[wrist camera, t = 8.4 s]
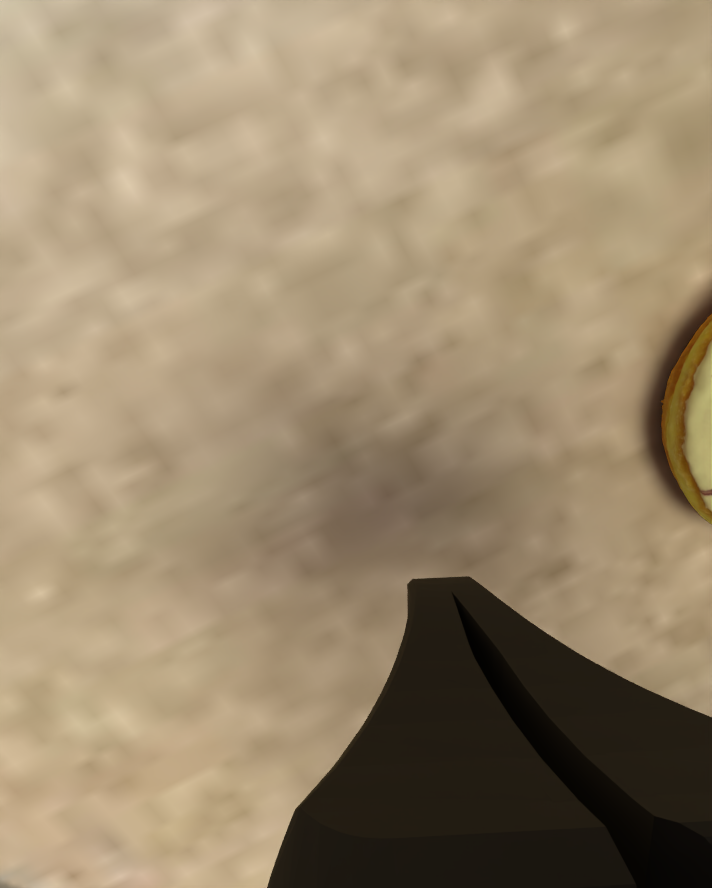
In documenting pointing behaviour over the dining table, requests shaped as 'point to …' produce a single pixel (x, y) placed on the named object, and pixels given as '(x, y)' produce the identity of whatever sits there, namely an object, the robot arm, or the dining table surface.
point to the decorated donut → (691, 421)
